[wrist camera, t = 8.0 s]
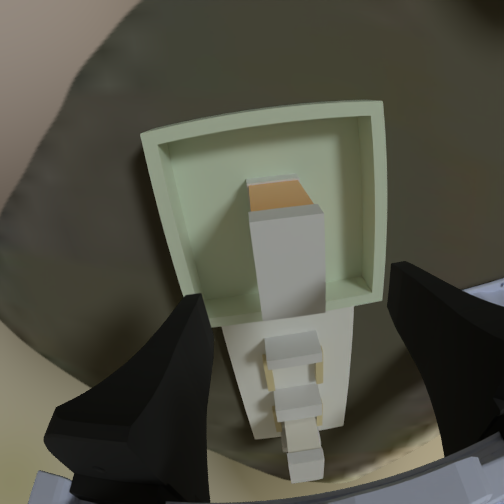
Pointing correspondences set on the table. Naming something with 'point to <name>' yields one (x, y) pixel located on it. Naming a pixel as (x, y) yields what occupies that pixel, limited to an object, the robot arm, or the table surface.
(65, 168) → the table surface
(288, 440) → the block
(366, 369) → the table surface
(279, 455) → the table surface
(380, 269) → the tray
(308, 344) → the fuse block
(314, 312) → the block
